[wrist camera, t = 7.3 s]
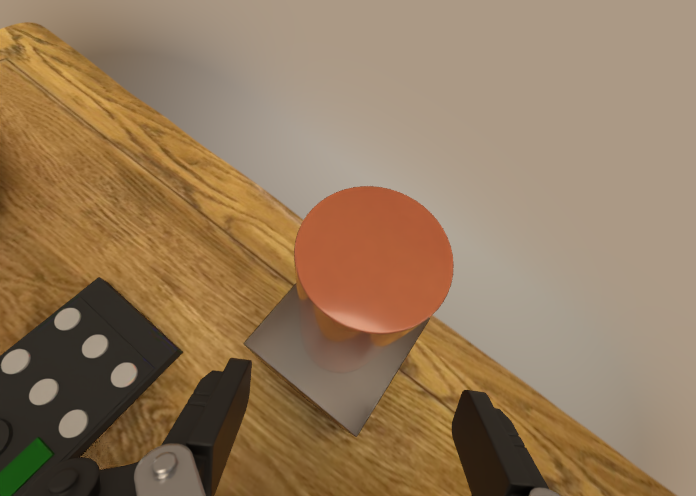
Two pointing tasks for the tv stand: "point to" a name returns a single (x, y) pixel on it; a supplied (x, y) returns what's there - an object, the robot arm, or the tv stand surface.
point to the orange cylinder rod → (367, 274)
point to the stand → (317, 383)
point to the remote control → (73, 381)
